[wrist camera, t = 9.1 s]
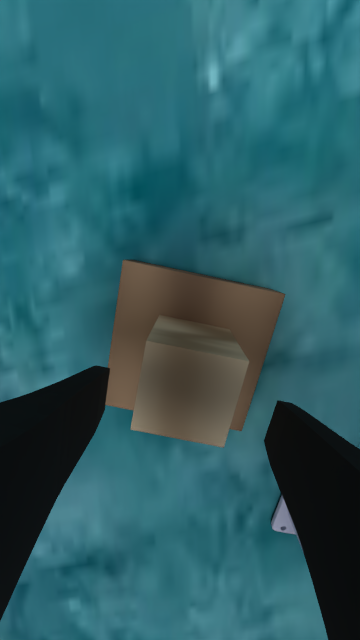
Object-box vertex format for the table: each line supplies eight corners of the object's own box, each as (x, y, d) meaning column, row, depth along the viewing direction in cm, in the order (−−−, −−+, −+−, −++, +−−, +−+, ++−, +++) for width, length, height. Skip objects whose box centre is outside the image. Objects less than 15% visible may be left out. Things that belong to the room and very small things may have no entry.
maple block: (229, 329, 15) (249, 361, 10) (212, 391, 16) (223, 447, 11) (159, 314, 15) (146, 340, 10) (147, 378, 16) (130, 429, 11)
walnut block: (268, 288, 17) (285, 294, 14) (233, 406, 20) (241, 431, 17) (133, 259, 17) (123, 259, 14) (115, 382, 20) (102, 404, 17)
